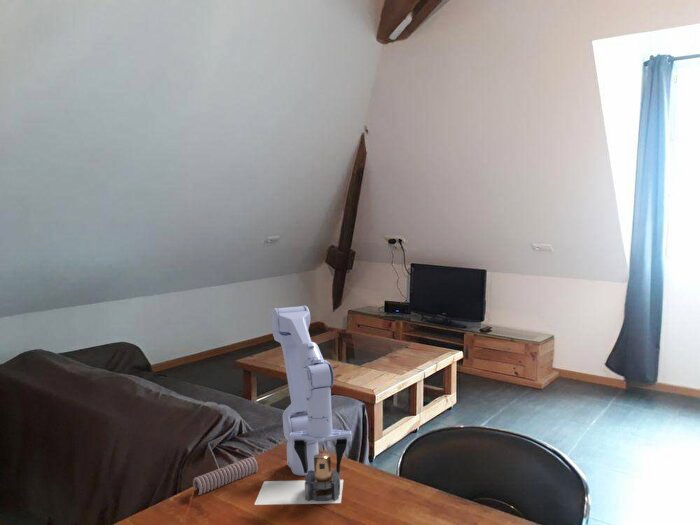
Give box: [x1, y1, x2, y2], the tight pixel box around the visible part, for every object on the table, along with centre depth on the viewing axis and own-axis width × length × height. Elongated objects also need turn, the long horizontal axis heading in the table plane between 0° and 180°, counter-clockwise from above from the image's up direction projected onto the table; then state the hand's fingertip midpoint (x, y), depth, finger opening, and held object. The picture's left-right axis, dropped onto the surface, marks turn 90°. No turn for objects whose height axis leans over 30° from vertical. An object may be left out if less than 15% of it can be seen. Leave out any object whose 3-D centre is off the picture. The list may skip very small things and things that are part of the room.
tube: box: [314, 452, 333, 494], centre depth 133 cm, size 4×4×9 cm
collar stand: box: [304, 469, 341, 501], centre depth 134 cm, size 8×8×4 cm
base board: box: [254, 479, 344, 506], centre depth 135 cm, size 20×12×1 cm, turn 88°
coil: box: [192, 456, 258, 496], centre depth 143 cm, size 5×5×18 cm
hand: (322, 470), depth 134 cm, fingers open, 7 cm apart
